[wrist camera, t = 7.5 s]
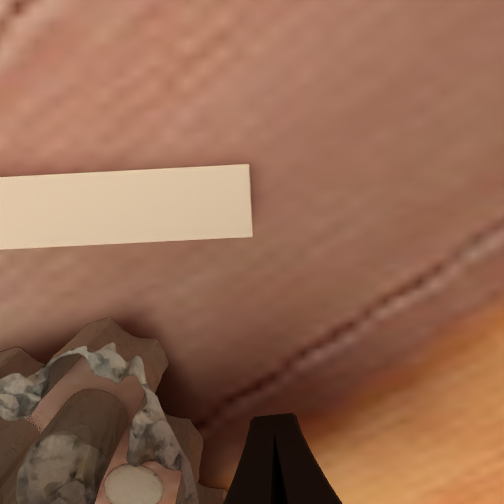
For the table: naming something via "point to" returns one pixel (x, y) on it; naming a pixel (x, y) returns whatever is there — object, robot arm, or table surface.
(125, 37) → the table surface
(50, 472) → the egg carton
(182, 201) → the display bay
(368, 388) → the table surface
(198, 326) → the table surface
